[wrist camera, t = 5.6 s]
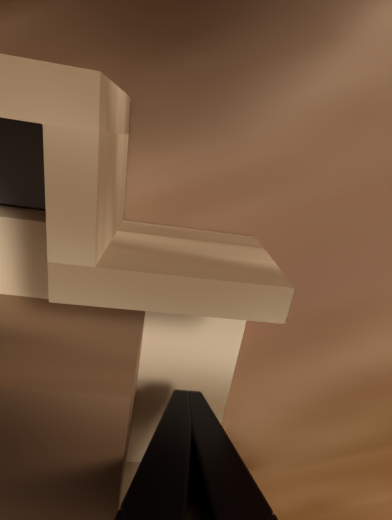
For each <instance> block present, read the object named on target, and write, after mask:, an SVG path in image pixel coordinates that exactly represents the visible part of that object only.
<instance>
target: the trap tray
mask: <svg viewBox="0 0 392 520" xmlns="http://www.w3.org/2000/svg"><path fill="white" fill-rule="evenodd" d="M130 105H131V97H130V96H128V95H127V94H126V93H125V92H124V91H123V90H121V89H120V88H119V87H118V86H117V85H116V84H115V83H113V82H112V81H111V80H110V79H109V78H108V77H106V76H105V75H104V74H103V73H102V72H101V71H96V70H91V69H85V68H79V67H74V66H68V65H62V64H57V63H51V62H46V61H40V60H34V59H29V58H23V57H17V56H12V55H6V54H1V53H0V117H1V118H7V119H14V120H20V121H27V122H33V123H40V124H43V149H44V177H45V206H46V211H45V210H37V209H29V208H21V207H13V206H5V205H0V294H6V295H16V296H25V297H34V298H43V299H49V302H51V303H62V304H73V305H84V306H95V307H106V308H117V309H128V310H138V311H146V312H145V320H144V328H143V337H142V345H141V353H140V361H139V369H138V378H137V386H136V394H135V402H134V411H133V419H132V427H131V434H130V440H129V447H128V454H127V460H126V467H125V473H124V480H123V486H122V493H121V499H120V506H121V504H122V501H123V499H124V497H125V495H126V493H127V491H128V488H129V486H130V484H131V482H132V480H133V478H134V475H135V473H136V471H137V469H138V467H139V464H140V462H141V460H142V458H143V456H144V454H145V451H146V449H147V447H148V445H149V443H150V441H151V438H152V436H153V434H154V432H155V430H156V427H157V425H158V423H159V421H160V419H161V417H162V414H163V412H164V410H165V408H166V406H167V404H168V401H169V399H170V397H171V395H172V393H173V391H174V390H175V389H179V390H187V391H188V390H192V391H200V392H202V394H203V395H204V397H205V399H206V400H207V402H208V404H209V405H210V407H211V409H212V410H213V412H214V414H215V415H216V417H217V419H218V420H219V422H220V424H221V423H222V419H223V415H224V411H225V407H226V403H227V398H228V394H229V390H230V386H231V382H232V378H233V374H234V370H235V366H236V361H237V357H238V353H239V349H240V345H241V341H242V337H243V333H244V329H245V324H246V320H247V321H258V322H269V323H280V324H285V321H286V318H287V314H288V311H289V308H290V304H291V301H292V298H293V294H294V291H295V287H294V286H293V285H292V283H291V282H290V281H289V280H288V278H287V277H286V276H285V275H284V273H283V272H282V271H281V270H280V268H279V267H278V266H277V264H276V263H275V262H274V261H273V259H272V258H271V257H270V256H269V254H268V253H267V252H266V251H265V249H264V248H263V247H262V245H261V244H260V243H259V242H258V240H257V239H256V238H255V237H254V236H245V235H237V234H229V233H221V232H213V231H205V230H197V229H189V228H181V227H173V226H165V225H157V224H149V223H141V222H133V221H125V220H124V204H125V188H126V171H127V155H128V138H129V122H130ZM120 506H119V509H120Z"/></svg>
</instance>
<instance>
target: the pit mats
mask: <svg viewBox="0 0 392 520" xmlns="http://www.w3.org/2000/svg"><path fill="white" fill-rule="evenodd" d="M0 203H2V204H10V205H18V206H26V207H34V208H42V209H46V206H45V177H44V149H43V125H40V124H33V123H27V122H20V121H14V120H8V119H1V118H0Z"/></svg>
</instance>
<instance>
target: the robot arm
mask: <svg viewBox="0 0 392 520" xmlns="http://www.w3.org/2000/svg"><path fill="white" fill-rule="evenodd" d="M272 514H273V511H272V509H271V507H270V506H269V504H268V502H267V501H266V499H265V497H264V496H263V494H262V492H261V491H260V489H259V487H258V486H257V484H256V482H255V481H254V479H253V477H252V476H251V474H250V472H249V471H248V469H247V467H246V466H245V464H244V462H243V460H242V459H241V457H240V455H239V454H238V452H237V450H236V449H235V447H234V445H233V444H232V442H231V440H230V439H229V437H228V435H227V434H226V432H225V430H224V429H223V427H222V425H221V424H220V422H219V420H218V419H217V417H216V415H215V414H214V412H213V410H212V409H211V407H210V405H209V404H208V402H207V400H206V399H205V397H204V395H203V394H202V392H200V391H192V390H188V391H187V390H179V389H175V390H174V391H173V393H172V395H171V397H170V399H169V401H168V404H167V406H166V408H165V410H164V412H163V414H162V417H161V419H160V421H159V423H158V425H157V427H156V430H155V432H154V434H153V436H152V438H151V441H150V443H149V445H148V447H147V449H146V451H145V454H144V456H143V458H142V460H141V462H140V464H139V467H138V469H137V471H136V473H135V475H134V478H133V480H132V482H131V484H130V486H129V488H128V491H127V493H126V495H125V497H124V499H123V501H122V504H121V506H120V509H119V510H118V512H117V514H116V516H115V518H114V520H278V519H277V517H276V515H274V514H273V515H272Z"/></svg>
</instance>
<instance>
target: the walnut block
mask: <svg viewBox="0 0 392 520" xmlns="http://www.w3.org/2000/svg"><path fill="white" fill-rule="evenodd" d="M145 312H146V311H138V310H128V309H117V308H106V307H95V306H84V305H73V304H62V303H51V302H49V299H43V298H34V297H25V296H16V295H6V294H0V520H114V518H115V516H116V514H117V512H118V510H119V506H120V499H121V493H122V486H123V480H124V473H125V467H126V460H127V454H128V447H129V440H130V434H131V427H132V419H133V411H134V402H135V394H136V386H137V378H138V369H139V361H140V353H141V345H142V337H143V328H144V320H145Z"/></svg>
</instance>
